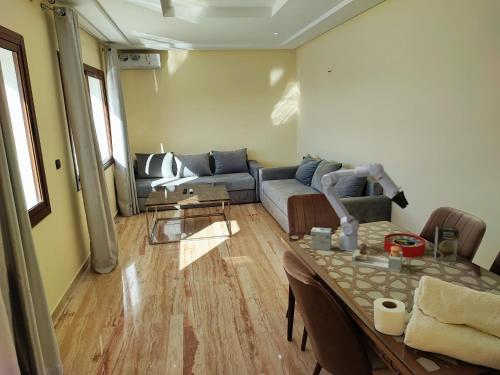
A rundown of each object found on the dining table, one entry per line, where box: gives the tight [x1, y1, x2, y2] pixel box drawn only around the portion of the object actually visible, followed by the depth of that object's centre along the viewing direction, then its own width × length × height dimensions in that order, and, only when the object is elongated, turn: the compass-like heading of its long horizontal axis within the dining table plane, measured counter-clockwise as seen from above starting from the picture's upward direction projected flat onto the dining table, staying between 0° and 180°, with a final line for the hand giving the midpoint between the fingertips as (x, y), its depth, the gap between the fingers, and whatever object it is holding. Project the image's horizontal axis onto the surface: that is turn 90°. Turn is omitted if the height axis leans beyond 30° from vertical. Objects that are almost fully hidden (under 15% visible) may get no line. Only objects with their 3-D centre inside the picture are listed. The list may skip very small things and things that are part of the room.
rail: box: [351, 249, 403, 274], centre depth 168 cm, size 22×10×6 cm, turn 61°
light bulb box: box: [310, 227, 332, 251], centre depth 190 cm, size 11×7×11 cm, turn 71°
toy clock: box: [383, 232, 426, 258], centre depth 183 cm, size 20×6×20 cm
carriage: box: [356, 243, 370, 260], centre depth 171 cm, size 5×8×7 cm, turn 151°
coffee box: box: [433, 225, 460, 262], centre depth 170 cm, size 9×6×16 cm
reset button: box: [391, 246, 402, 257], centre depth 163 cm, size 5×5×6 cm
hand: (405, 206), depth 165 cm, fingers open, 7 cm apart
